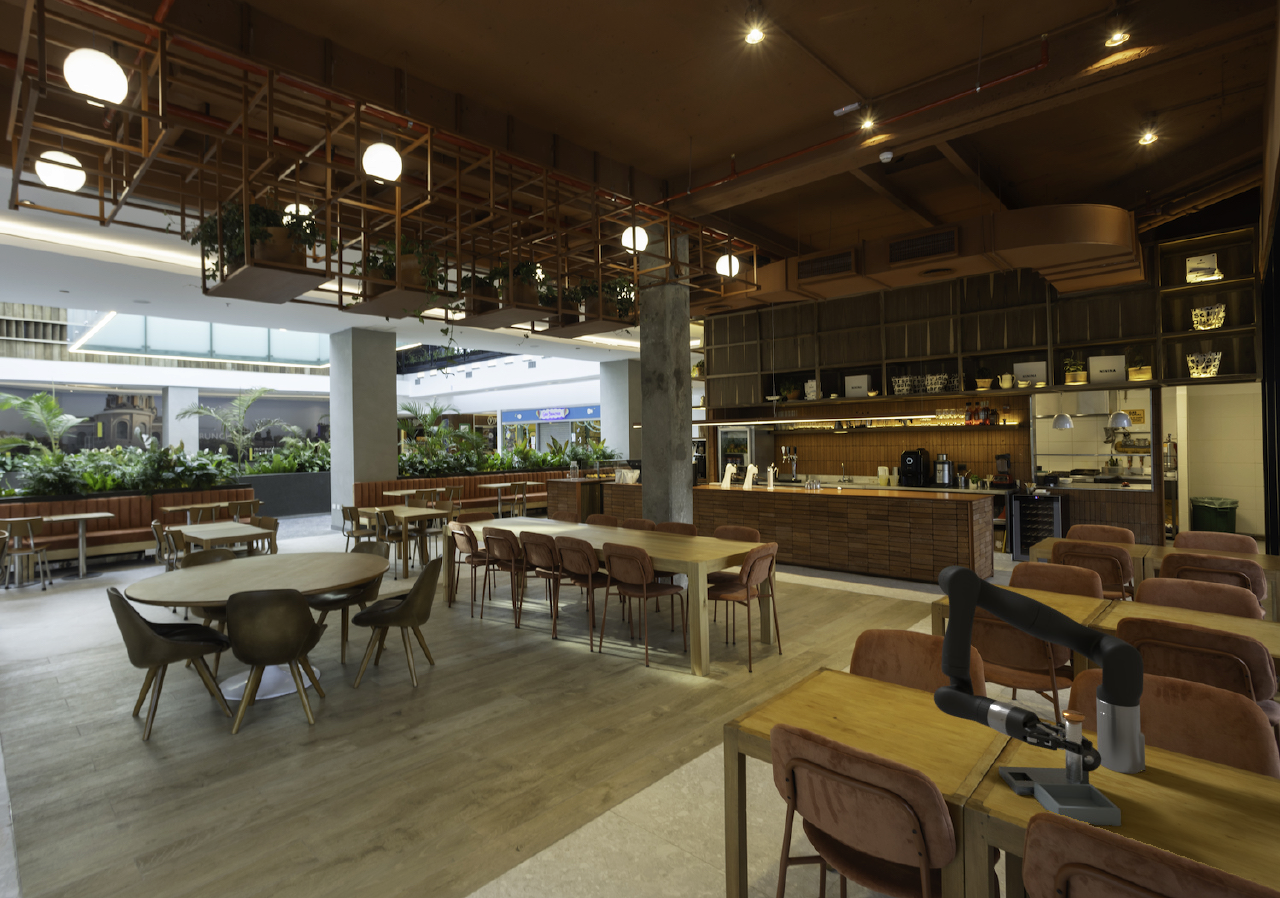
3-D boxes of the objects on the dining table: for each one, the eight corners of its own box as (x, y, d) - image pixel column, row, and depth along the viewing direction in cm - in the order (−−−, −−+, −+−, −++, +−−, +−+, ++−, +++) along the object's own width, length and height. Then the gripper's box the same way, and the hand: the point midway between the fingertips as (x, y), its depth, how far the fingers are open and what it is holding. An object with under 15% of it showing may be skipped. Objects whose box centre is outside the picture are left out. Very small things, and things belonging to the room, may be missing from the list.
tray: (1092, 799, 156) (1091, 784, 156) (1120, 826, 145) (1120, 809, 145) (1034, 797, 157) (1034, 782, 157) (1058, 823, 146) (1058, 807, 146)
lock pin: (1075, 772, 153) (1074, 709, 153) (1090, 782, 149) (1089, 717, 149) (1058, 774, 153) (1057, 710, 153) (1072, 783, 148) (1072, 718, 148)
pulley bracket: (1079, 776, 166) (1078, 725, 166) (1103, 798, 156) (1102, 743, 156) (999, 774, 168) (997, 724, 168) (1017, 795, 158) (1016, 741, 158)
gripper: (995, 712, 160) (1070, 739, 145) (1029, 700, 167) (1103, 725, 152) (995, 742, 160) (1070, 773, 145) (1029, 729, 167) (1104, 757, 152)
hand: (1086, 748), depth 148 cm, fingers closed on lock pin, 3 cm apart
